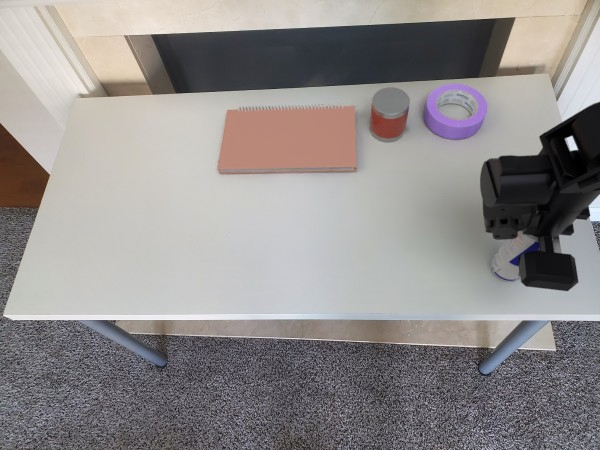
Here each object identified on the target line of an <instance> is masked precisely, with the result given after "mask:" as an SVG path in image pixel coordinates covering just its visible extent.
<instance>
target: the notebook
mask: <svg viewBox="0 0 600 450" xmlns="http://www.w3.org/2000/svg"><path fill="white" fill-rule="evenodd" d="M337 104H338V105H337ZM310 105H311V106H310ZM356 123H357V121H356V106H355V105H344V103H341V104H340V103H331V106H330V103H328V104H326V103H325V104H323V103H322V104H321V105H320V104H304V105H303V104H298V105H296V104H294V105H293V104H291V105H289V104H288V105H287V104H285V105H282V104H281V105H268V106H266V105H264V106H263V105H262V106H260V105H258V106H253V105H252V106H238V108H237V109H227V110H226V114H225V122H224V127H223V134H222V139H221V145H220V151H219V157H218V163H217V169H216V170H217V171H218V174H219V175H224V174H225V175H229V174H231V175H233V174H283V173H284V174H287V173H288V174H289V173H290V174H291V173H295V174H296V173H346V172H347V173H348V172H349V173H350V172H351V173H352V172H355V173H356V172H357V167H358V165H357V163H358V162H357V161H358V160H357V128H356V127H357V124H356Z"/></svg>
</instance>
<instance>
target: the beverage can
mask: <svg viewBox="0 0 600 450" xmlns="http://www.w3.org/2000/svg"><path fill="white" fill-rule="evenodd" d="M530 251H540V247H539V239H538V235H536V234H535V233H534V234H533V235H526V234H523V233H522V231H519V232H518V237H517V238H515V239H505V240H503V242H502V244H501V245H500V247H499V249H497V251H496V253H495V255H494V256H493V258H492V259H491V261H490V268H491V271H492V273H493V274H494V276H495V277H496V278H498V279H500V280H501V281H504V282H515V281H518V280H519V279H521V277H519V276H518V273H519V263H518V257H521V256H522V254H523V253H525V252H530Z"/></svg>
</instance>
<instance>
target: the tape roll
mask: <svg viewBox="0 0 600 450" xmlns="http://www.w3.org/2000/svg"><path fill="white" fill-rule="evenodd" d="M449 104H452V105H454V104H455V105H458V106H462V107H463V108H465V109H466V110H468V111H469V113H470V114H471V115H470V116H469V117H465V118H452V117H449V116H447V115H445V114H444V113H443V112H442V111H440V108H439V107H441V106H443V105H444V106H445V105H449ZM488 106H489V105H488V101H487V100H486V98H485V97H484V95H483V94H482V93H481V92H480V91H479V90H477V89H475V88H474V87H472V86H470V85H467V84H463V83H446V84H442V85H440V86H438V87H436V88H434V89H433V90H432V91H431V92H430V93H429V94H428V96H427V98H426V102H425V107H424V111H423V121H424V123H425V125H426V127H427V128H428V129H429V130H430V131H431V132H432V133H434V135H437V136H438V137H441V138H444V139H449V140H464V139H468V138H470V137H473V136H474V135H476V133H477V134H478V132H479V131H480V129H481V127H482V125H483V123H484V121H485V118H486V116H487V113H488V108H489V107H488Z"/></svg>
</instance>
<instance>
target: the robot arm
mask: <svg viewBox="0 0 600 450" xmlns="http://www.w3.org/2000/svg"><path fill="white" fill-rule="evenodd" d="M570 137H572V139H573V141H574V143H575V146H576V148H577V149H574V150H570V148H569V146H568V143H567V141H566V139H567V138H570ZM538 138H539V141H540V143H541V146H542V148H541V149H540V151H539V153H538V154H532V155H531V154H529V155H513V154H512V155H511V154H510V155H509V154H508V155H500V156H499V157H493V158H488V159H487V160H485V161H484V162H483V163H482V167H481V170H480V174H479V175H480V177H479V188H480V195H481V198H482V199H481V201H482V215H483V222H484V227H485V228H484V229H485V233H487V234H491V235H492V239H494V240H496V241H502V240H503V241H505V240H506V239H515V238H517V237H518V232H519V231H522V233H523V234H526V235H533V234H534V233H535V234H536V235H538V239H539V247H540V251H530V252H525V253H523V254H522V256H521V257H518V263H519V273H518V276H519V277H520V283H521V284H523V285H524V287H528V288H535V289H542V290H543V289H544V290H553V291H560V292H561V291H563V292H569V291H570V290H571V289H573V288H574V287H575V286H576V285H577V284H579V276H578V270H577V264H576V258H575V256H573V255H572V253H571V254H570V253H563V252H562V247H561V240H560V236H569V237H571V236H572V235H573V234H574V233H575V228H574V222H575V221H576V220H583V221H587V220H588V219H589V218H590V217H591V213H590V212H591V211H590V205H591V204H592V203H593V202H594V201H595V200H596V199H597V198H598V197H599V196H600V101H598V102H594V103H591V104H590V105H588V106H587V107H585V108H582V110H579V111H578V112H576V113H575V114H574V115H572V116H569V117H568V118H567V119H565V120H563V121H561V122H560V123H558V124H556V125H555V126H554V127H551V128H550V129H548V130H547V131H545V132H543V133H542V134H540V135H539V136H538Z"/></svg>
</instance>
